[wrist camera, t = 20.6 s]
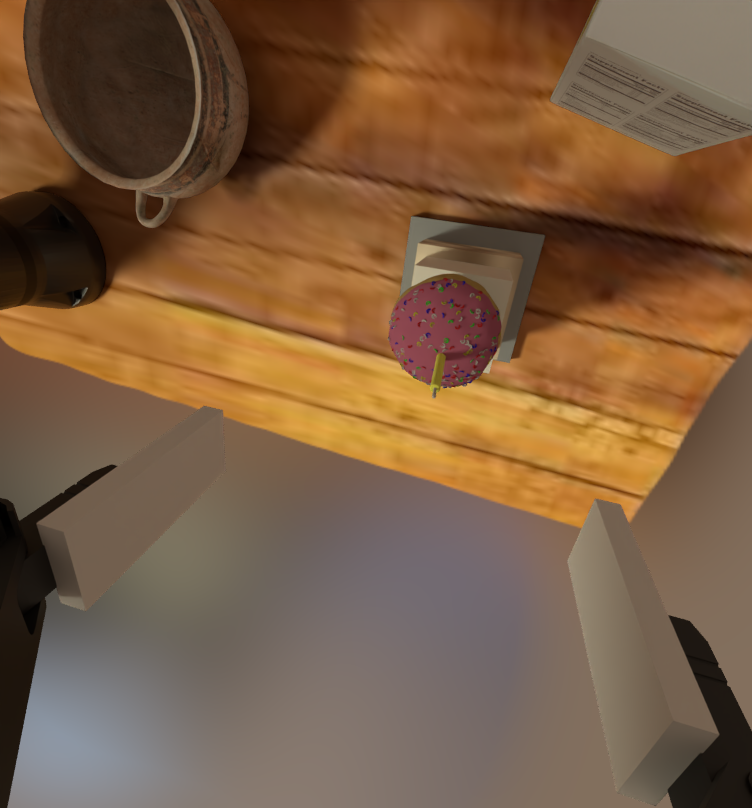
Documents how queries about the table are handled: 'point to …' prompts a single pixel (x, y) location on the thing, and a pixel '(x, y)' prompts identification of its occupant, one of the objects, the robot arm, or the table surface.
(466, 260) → the maple base block
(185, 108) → the cooking pot
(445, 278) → the cupcake
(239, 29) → the table surface
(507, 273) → the cream block
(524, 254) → the slate board
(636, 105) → the supplement box
